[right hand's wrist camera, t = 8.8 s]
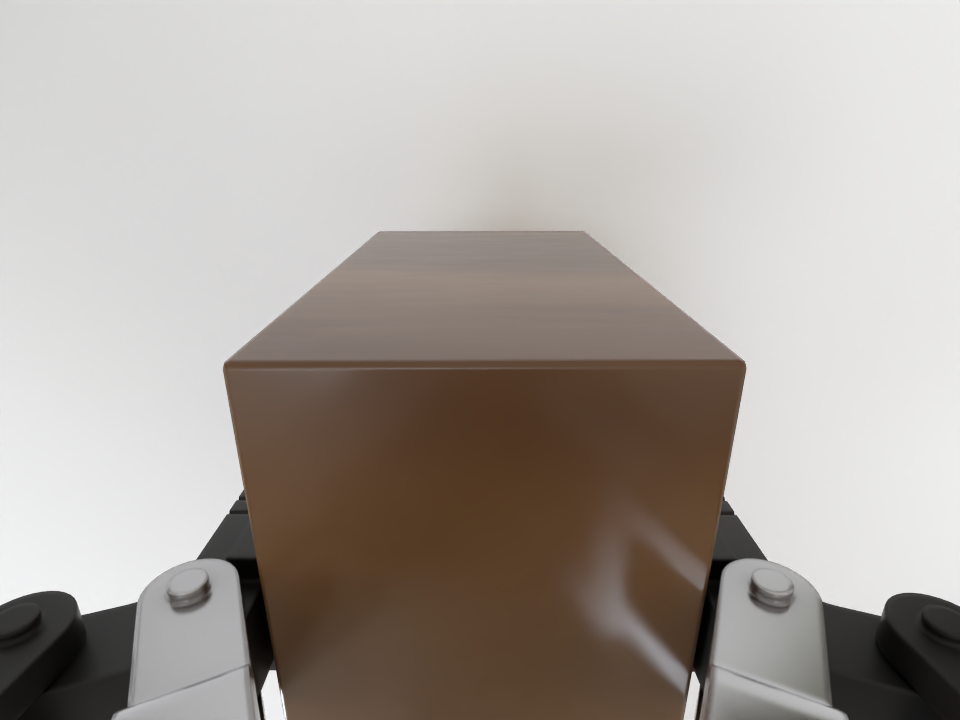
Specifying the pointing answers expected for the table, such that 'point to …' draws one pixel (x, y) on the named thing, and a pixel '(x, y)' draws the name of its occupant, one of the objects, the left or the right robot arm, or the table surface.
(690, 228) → the table surface
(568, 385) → the box
